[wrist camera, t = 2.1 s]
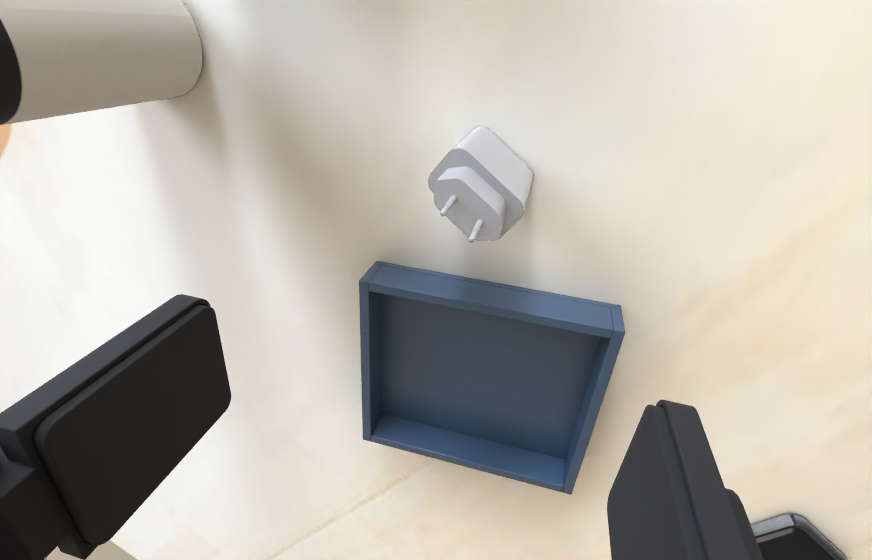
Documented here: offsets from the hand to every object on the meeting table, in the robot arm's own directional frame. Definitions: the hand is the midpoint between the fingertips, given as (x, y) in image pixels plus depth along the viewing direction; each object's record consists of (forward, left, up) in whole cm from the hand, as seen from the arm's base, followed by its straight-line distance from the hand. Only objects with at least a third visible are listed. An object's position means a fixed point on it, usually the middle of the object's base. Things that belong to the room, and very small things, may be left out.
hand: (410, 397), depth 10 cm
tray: (+1, +19, -25) cm, 31 cm away
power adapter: (+2, +1, -25) cm, 25 cm away
